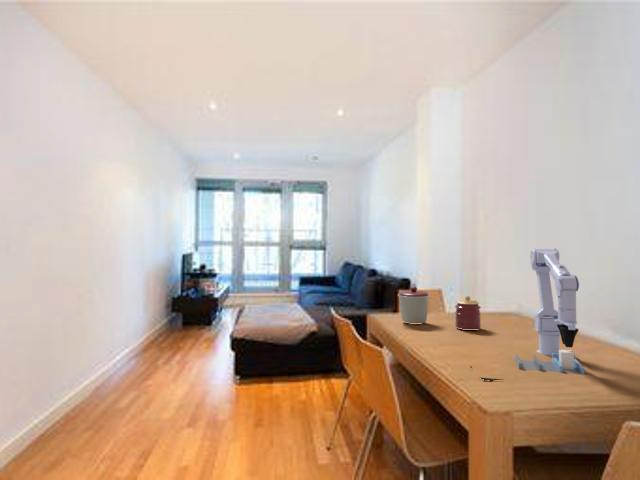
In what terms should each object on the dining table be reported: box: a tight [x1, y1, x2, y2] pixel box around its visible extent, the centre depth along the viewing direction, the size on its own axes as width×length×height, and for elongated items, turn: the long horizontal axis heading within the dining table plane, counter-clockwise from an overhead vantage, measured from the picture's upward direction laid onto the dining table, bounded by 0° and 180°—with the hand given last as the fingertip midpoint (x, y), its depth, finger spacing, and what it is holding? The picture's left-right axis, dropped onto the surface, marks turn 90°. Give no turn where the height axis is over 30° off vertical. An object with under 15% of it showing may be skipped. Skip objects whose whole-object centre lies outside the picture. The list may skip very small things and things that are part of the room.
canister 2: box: [454, 295, 482, 330], centre depth 223 cm, size 13×13×18 cm
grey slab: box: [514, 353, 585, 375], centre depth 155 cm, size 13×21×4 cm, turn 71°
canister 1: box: [397, 286, 431, 324], centre depth 239 cm, size 18×18×21 cm
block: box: [559, 349, 575, 370], centre depth 153 cm, size 4×4×6 cm
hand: (567, 345), depth 153 cm, fingers open, 3 cm apart
